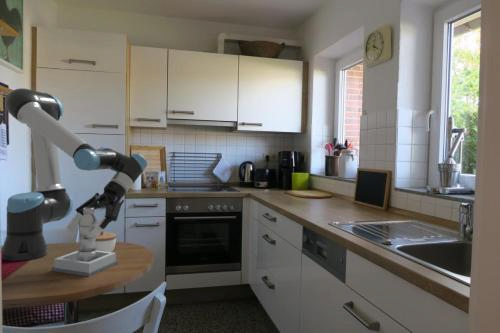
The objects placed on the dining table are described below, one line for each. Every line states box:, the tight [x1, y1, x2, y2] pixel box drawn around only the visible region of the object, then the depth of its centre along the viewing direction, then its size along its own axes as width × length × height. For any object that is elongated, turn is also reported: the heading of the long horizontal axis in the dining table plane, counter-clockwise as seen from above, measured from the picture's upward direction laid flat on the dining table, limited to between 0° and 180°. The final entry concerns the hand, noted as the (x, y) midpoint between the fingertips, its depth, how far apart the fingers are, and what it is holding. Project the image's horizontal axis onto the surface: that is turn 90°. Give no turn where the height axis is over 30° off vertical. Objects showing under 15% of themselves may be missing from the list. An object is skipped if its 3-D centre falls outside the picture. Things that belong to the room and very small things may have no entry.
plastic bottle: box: [77, 207, 99, 262], centre depth 124 cm, size 6×7×20 cm
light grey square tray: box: [51, 250, 119, 277], centre depth 124 cm, size 15×15×4 cm
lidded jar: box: [95, 230, 117, 252], centre depth 139 cm, size 11×11×9 cm
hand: (80, 232), depth 122 cm, fingers open, 13 cm apart
